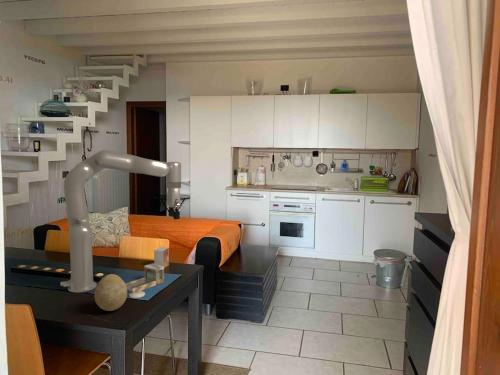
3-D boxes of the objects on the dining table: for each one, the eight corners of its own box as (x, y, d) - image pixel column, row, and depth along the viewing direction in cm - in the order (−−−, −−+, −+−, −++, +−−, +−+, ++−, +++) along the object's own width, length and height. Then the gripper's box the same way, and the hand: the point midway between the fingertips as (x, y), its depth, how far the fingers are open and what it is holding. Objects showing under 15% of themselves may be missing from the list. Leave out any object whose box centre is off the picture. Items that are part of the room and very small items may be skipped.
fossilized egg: (133, 304, 156) (132, 270, 154) (117, 317, 143) (116, 281, 142) (105, 302, 158) (105, 268, 156) (88, 314, 145) (87, 278, 144)
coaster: (130, 299, 161) (130, 297, 161) (127, 293, 167) (127, 292, 167) (146, 296, 164) (146, 295, 164) (143, 291, 170) (143, 290, 170)
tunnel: (132, 293, 167) (132, 276, 167) (121, 288, 173) (121, 272, 172) (164, 282, 182) (163, 266, 181) (152, 278, 187) (152, 263, 187)
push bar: (131, 292, 170) (131, 287, 170) (126, 290, 172) (126, 285, 172) (151, 284, 179) (151, 280, 179) (147, 283, 181) (147, 278, 181)
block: (153, 284, 179) (153, 274, 179) (147, 282, 182) (147, 272, 182) (161, 281, 183) (161, 272, 183) (155, 279, 186) (154, 270, 186)
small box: (163, 269, 202) (163, 251, 201) (154, 268, 203) (153, 250, 202) (169, 265, 210) (169, 247, 209) (160, 264, 211) (160, 246, 210)
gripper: (162, 184, 195) (163, 215, 197) (171, 187, 179) (171, 220, 181) (176, 183, 198) (176, 214, 200) (185, 186, 183) (185, 219, 185)
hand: (174, 217), depth 191 cm, fingers open, 9 cm apart
